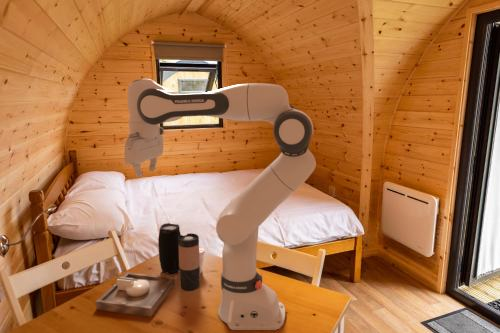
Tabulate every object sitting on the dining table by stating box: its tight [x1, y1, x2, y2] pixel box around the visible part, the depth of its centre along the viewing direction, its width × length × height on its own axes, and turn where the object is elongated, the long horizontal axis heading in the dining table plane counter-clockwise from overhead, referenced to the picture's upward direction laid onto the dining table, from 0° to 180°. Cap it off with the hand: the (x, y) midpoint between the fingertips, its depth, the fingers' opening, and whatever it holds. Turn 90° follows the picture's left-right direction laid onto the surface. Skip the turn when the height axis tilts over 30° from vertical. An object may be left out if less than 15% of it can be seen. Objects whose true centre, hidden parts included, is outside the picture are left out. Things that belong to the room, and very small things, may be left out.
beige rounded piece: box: [116, 276, 150, 297], centre depth 122 cm, size 12×8×4 cm
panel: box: [95, 272, 176, 317], centre depth 122 cm, size 20×20×3 cm
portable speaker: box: [157, 222, 182, 276], centre depth 139 cm, size 9×9×20 cm
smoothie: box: [199, 246, 206, 274], centre depth 139 cm, size 6×6×14 cm
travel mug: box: [178, 232, 201, 292], centre depth 128 cm, size 8×8×20 cm
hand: (146, 173), depth 111 cm, fingers open, 8 cm apart
